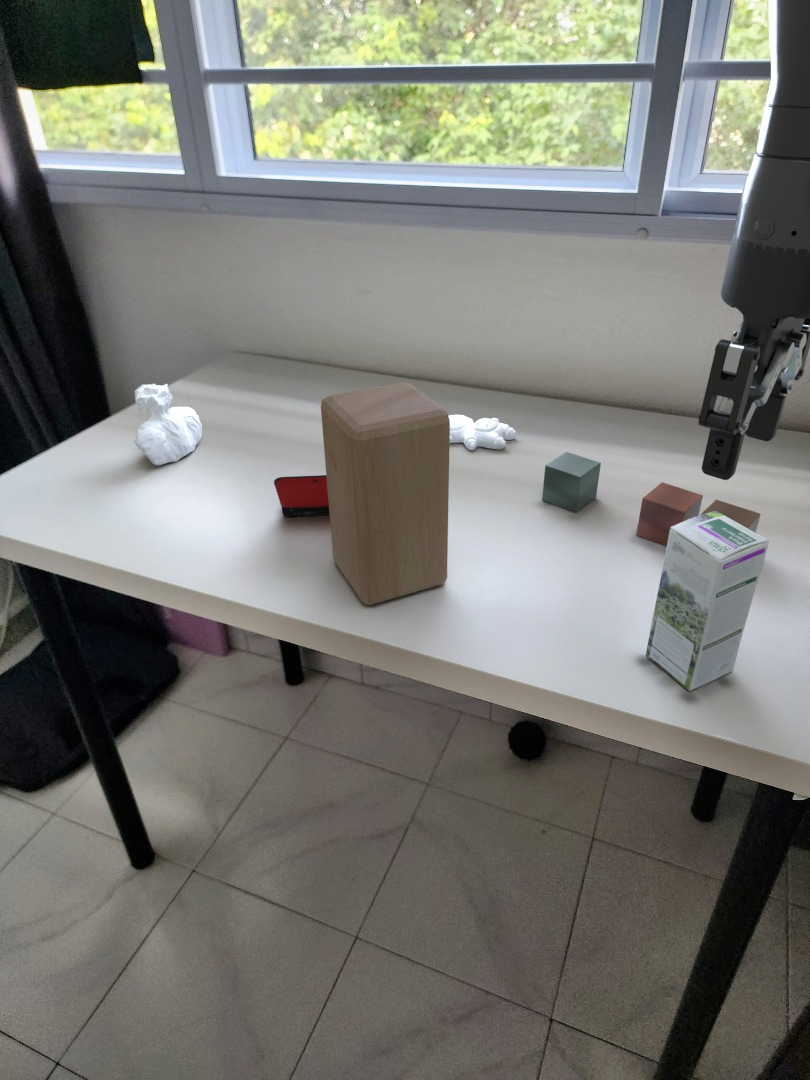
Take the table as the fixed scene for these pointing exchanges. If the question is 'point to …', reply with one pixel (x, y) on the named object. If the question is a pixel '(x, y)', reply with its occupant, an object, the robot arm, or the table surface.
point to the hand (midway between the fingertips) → (738, 455)
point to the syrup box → (704, 597)
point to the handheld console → (303, 495)
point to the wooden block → (387, 489)
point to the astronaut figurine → (479, 432)
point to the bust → (165, 426)
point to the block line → (662, 508)
